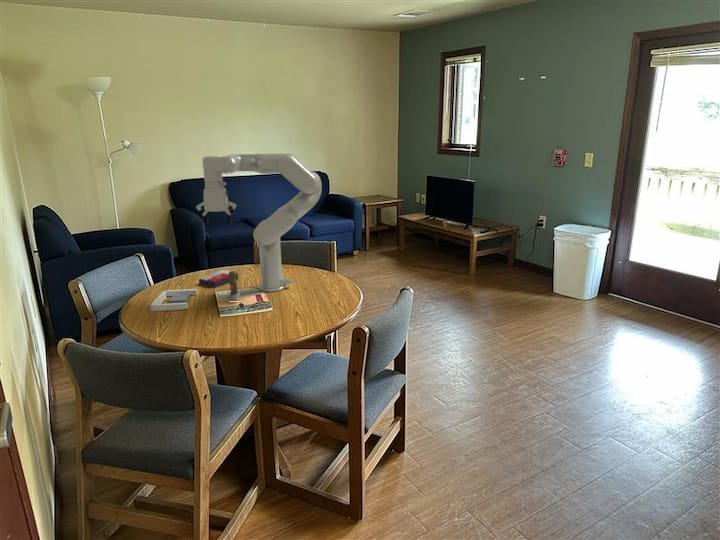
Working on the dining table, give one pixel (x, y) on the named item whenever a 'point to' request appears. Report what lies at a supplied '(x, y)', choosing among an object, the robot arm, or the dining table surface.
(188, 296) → the tile
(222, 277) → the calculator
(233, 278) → the scraper
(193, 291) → the bay
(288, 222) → the robot arm
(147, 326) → the dining table surface
